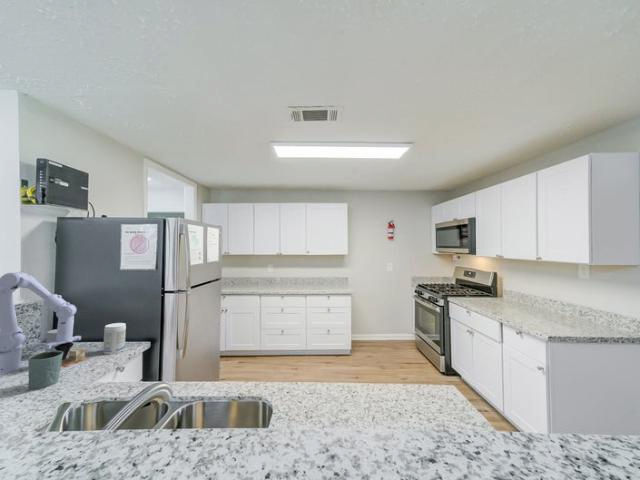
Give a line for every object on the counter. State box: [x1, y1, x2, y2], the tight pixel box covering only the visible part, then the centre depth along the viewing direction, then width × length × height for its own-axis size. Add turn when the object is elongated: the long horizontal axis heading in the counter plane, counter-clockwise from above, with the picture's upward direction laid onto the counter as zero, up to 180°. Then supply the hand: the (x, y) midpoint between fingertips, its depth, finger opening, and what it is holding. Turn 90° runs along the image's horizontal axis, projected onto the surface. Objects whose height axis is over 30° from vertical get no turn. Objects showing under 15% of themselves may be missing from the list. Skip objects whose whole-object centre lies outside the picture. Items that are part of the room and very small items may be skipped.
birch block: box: [67, 347, 86, 361], centre depth 138 cm, size 4×4×4 cm
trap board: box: [61, 356, 90, 368], centre depth 134 cm, size 12×11×1 cm
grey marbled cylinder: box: [44, 328, 71, 354], centre depth 144 cm, size 10×10×12 cm
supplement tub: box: [102, 322, 127, 355], centre depth 150 cm, size 10×10×15 cm
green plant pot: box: [27, 351, 63, 391], centre depth 111 cm, size 10×10×12 cm
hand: (62, 359), depth 131 cm, fingers closed
